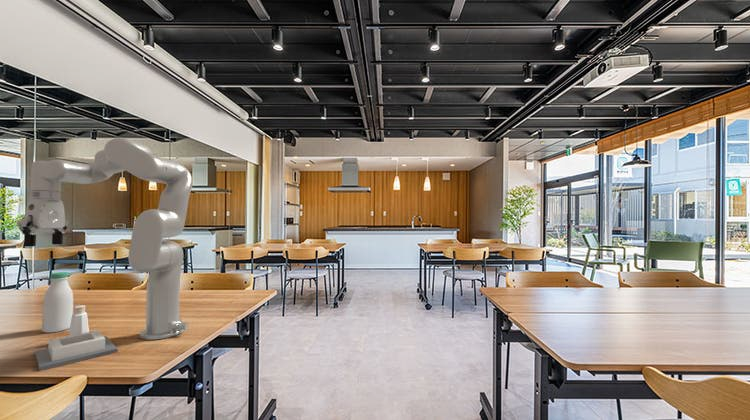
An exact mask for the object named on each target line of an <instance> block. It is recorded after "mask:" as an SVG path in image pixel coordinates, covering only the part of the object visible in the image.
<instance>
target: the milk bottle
mask: <svg viewBox="0 0 750 420" xmlns="http://www.w3.org/2000/svg"><path fill="white" fill-rule="evenodd" d="M49 276H50V277H49V278H50V279H49V280H50V284H49V287H48V288H47V290H46V291H45V293H44V295H43V303H42V319H41V320H42V322H41V323H42V324H41V331H42V332H43V333H57V332H58V333H59V332H64V331H67V330H70V324H71V318H72V315H73V314H74V293H73V290H72V288H71V286H70V285H69V282H68V279H69V272H67V271H63V272H60V271H59V272H54V273H52V272H51V274H50V275H49Z"/></svg>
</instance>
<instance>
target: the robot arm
mask: <svg viewBox="0 0 750 420" xmlns="http://www.w3.org/2000/svg"><path fill="white" fill-rule="evenodd" d="M93 159H94V162H91V163H82V162H75V161H71V160H64V159H52V160H35V161H33V162H32V163H31V167H30V192H29V193H28V196H30V198H29V200H28V202H27V204H26V205H27V206H26V210H25V216H24V218H21V219H20V220H17V221H16V224H17V226H18V230H19V231H20V232H21V234H22V235H24V236H23V237H24V238H23V247H36V244H37V234H35V233H37V231H38V230H39V229H43V230H44V229H45V230H46V229H47V230H48V229H51V230H52V234H51V235H52V236H51V238H52V239H51V244H52V245H63V239H64V238H63V237H64V234H65V233H66V230H67V229H68V226H69V224H70V221H69V220H68V219H66V213H65V206H64V201H63V200H61V199H62V182H63V183H71V184H79V185H89V184H96V183H100V182H104V181H106V180H108V179H110V178H111V177H112V176H113V175H114V174H118V173H122V172H127V173H130V174H131V175H132V176H134V177H136V178H138V179H140V180H143V181H147V182H154V183H159V184H165V185H166V187H165V188H164V189H163V190H162V192H161V194H160V196H159V201H158V206H157V209H156V208H155V209H154V208H153V209H152V208H151V209H150V208H149V209H146V210H144V211H143V212H141V213H140V214H138V216H137V217H136V219H135V221H134V222H133V223H134V225H133V228H132V234H131V237H130V244H129V249H128V263H129V266H130V268H131V269H133V271H135V272H137V273H145V274H146V273H149V274H148V277H147V283H146V302H145V303H146V305H145V309H146V310H145V329H144V330H142V331H141V332H139V339H141V340H147V341H148V340H149V341H151V340H152V341H153V340H162V339H167V338H171V337H174V336H178V335H180V334H181V333H183V332H184V331H185V330H188V328H189V325H190V322H189V321H187V322H186V321H183V317H180V296H181V295H180V294H181V293H180V291H181V290H180V287H181V272H182V266H183V262H184V250H183V248H182V246H181V245H180V244H179V243H177V242H175V241H174V240H173V241H172V240H164V239H168V238H173V237H177V236H179V235H181V234H182V233H183V231H184V228H185V223H186V218H187V214H188V206H189V200H190V195H191V191H192V187H193V177H192V173H191V172H190V171H189V170H188V169H187V168H186V167H185V166H184V165H183V164H181V163H179V162H177V161H174V160H171V159H168V158H163V157H160V156H156V155H154V154H153V151H152V150H151V148H149V147H148V146H147V145H145V144H144V143H140V142H137V141H134V140H132V139H128V138H124V137H113V139H110V140H108V141H107V142H106V144H105V145H104V148H103V149H102V150H99V151H97V152H96V153H95V155H94V158H93Z"/></svg>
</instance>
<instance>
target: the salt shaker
mask: <svg viewBox="0 0 750 420" xmlns="http://www.w3.org/2000/svg"><path fill="white" fill-rule="evenodd" d="M86 307H87V306H86V305H84V304H82V305H76V306H73V315H72V318H71V324H70V328H69V331H68V336H71V335H76V334H81V333H86V332H90V329H89V322H88V321H89V319H88V313H87V312H86Z"/></svg>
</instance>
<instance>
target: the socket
mask: <svg viewBox="0 0 750 420" xmlns="http://www.w3.org/2000/svg"><path fill="white" fill-rule="evenodd" d="M118 349H119V348H118V347H117V346H116V345H115V344H114V343H113V342H112V340H110V338H109V337H108V336H107V335H103V334H102V333H101V332H100V331H99V329H97V330H92V331H89V332H86V333H81V334H76V335H71V336H69V335H66V336H61V337H57V338H56V337H55V338H51V339H48V347H45V348H41V349H36V350H35V352H34V355H35V359H36V363H37V368H38V371H39V372H41V371H45V370H49V369H53V368H56V367H61V366H65V365H69V364H73V363H77V362H81V361H86V360H91V359H94V358H95V359H96V358H98V357H102V356H107V355H111V354H116V353H118V352H119V351H118Z"/></svg>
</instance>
